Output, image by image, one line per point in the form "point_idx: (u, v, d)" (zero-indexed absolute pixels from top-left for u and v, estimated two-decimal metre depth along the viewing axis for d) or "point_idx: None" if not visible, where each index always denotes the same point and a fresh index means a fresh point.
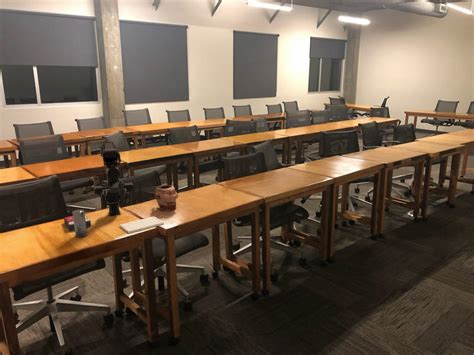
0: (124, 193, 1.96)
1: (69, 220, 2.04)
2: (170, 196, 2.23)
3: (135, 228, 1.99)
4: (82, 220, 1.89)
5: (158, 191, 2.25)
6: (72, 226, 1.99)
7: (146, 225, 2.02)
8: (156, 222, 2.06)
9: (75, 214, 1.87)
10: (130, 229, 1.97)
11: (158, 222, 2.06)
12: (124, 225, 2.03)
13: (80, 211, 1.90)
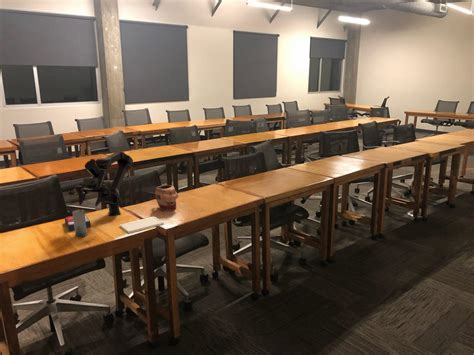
0: None
1: (69, 220, 2.04)
2: (170, 196, 2.23)
3: (135, 228, 1.99)
4: (82, 220, 1.89)
5: (158, 191, 2.25)
6: (71, 226, 1.99)
7: (146, 225, 2.02)
8: (156, 222, 2.06)
9: (75, 214, 1.87)
10: (130, 229, 1.97)
11: (158, 222, 2.06)
12: (124, 225, 2.03)
13: (80, 211, 1.90)
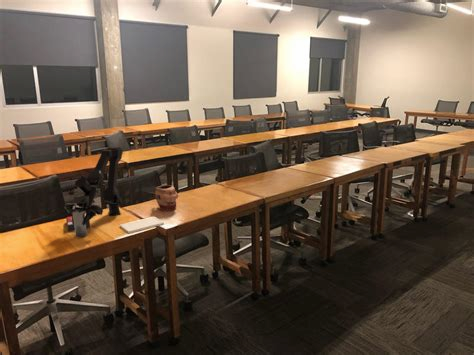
0: None
1: (69, 220, 2.04)
2: (170, 196, 2.23)
3: (135, 228, 1.99)
4: (82, 220, 1.89)
5: (158, 191, 2.25)
6: (70, 226, 1.99)
7: (146, 225, 2.02)
8: (156, 222, 2.06)
9: (75, 214, 1.87)
10: (130, 229, 1.97)
11: (158, 222, 2.06)
12: (124, 225, 2.03)
13: (80, 211, 1.90)
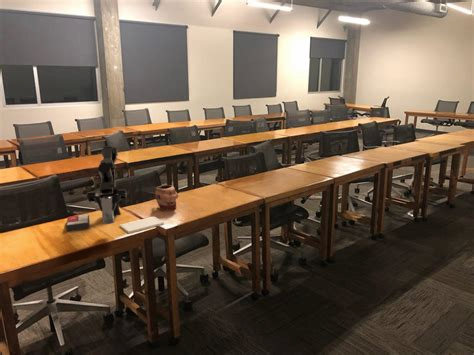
0: None
1: (69, 220, 2.04)
2: (170, 196, 2.23)
3: (135, 228, 1.99)
4: (112, 205, 1.89)
5: (158, 191, 2.25)
6: (69, 227, 1.98)
7: (146, 225, 2.02)
8: (156, 222, 2.06)
9: (106, 200, 1.86)
10: (130, 229, 1.97)
11: (158, 222, 2.06)
12: (124, 225, 2.03)
13: (108, 197, 1.89)
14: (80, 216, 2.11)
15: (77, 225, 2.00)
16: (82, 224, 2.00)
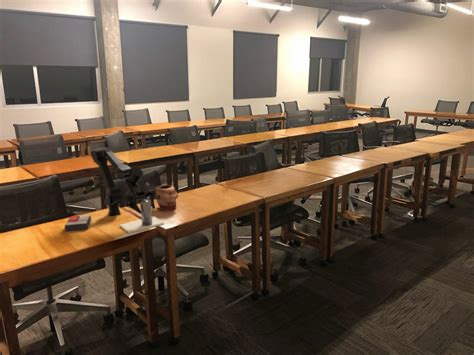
0: None
1: (70, 220, 2.04)
2: (170, 196, 2.23)
3: (135, 228, 1.99)
4: None
5: (158, 191, 2.25)
6: (68, 227, 1.98)
7: None
8: (156, 222, 2.06)
9: (148, 202, 2.00)
10: (130, 229, 1.97)
11: (158, 222, 2.06)
12: (124, 225, 2.03)
13: (146, 200, 2.02)
14: (81, 216, 2.10)
15: (75, 225, 1.99)
16: (80, 225, 2.00)
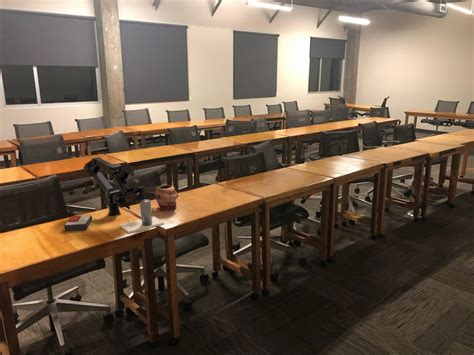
0: (139, 198, 2.13)
1: (70, 220, 2.04)
2: (170, 196, 2.23)
3: (135, 228, 1.99)
4: None
5: (158, 191, 2.25)
6: (67, 227, 1.98)
7: None
8: (156, 222, 2.06)
9: (148, 203, 2.00)
10: (130, 229, 1.97)
11: (158, 222, 2.06)
12: (124, 225, 2.03)
13: (146, 200, 2.02)
14: (82, 216, 2.10)
15: (74, 226, 1.99)
16: (79, 225, 1.99)
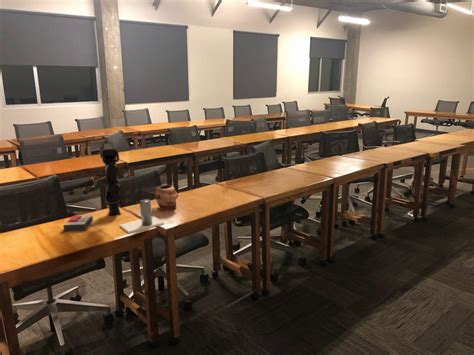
0: None
1: (70, 220, 2.04)
2: (170, 196, 2.23)
3: (135, 228, 1.99)
4: None
5: (158, 191, 2.25)
6: (66, 227, 1.98)
7: None
8: (156, 222, 2.06)
9: (148, 203, 2.00)
10: (130, 229, 1.97)
11: (158, 222, 2.06)
12: (124, 225, 2.03)
13: (146, 200, 2.02)
14: (83, 217, 2.10)
15: (74, 226, 1.98)
16: (78, 225, 1.99)
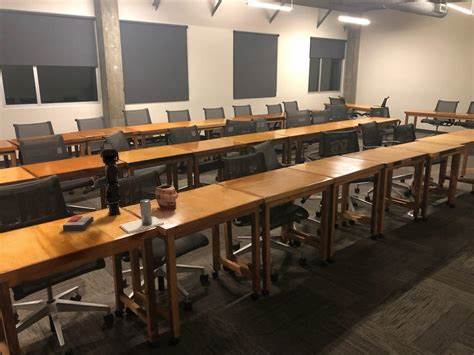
0: (115, 190, 2.06)
1: (70, 220, 2.04)
2: (170, 196, 2.23)
3: (135, 228, 1.99)
4: None
5: (158, 191, 2.25)
6: (65, 227, 1.98)
7: None
8: (156, 222, 2.06)
9: (148, 202, 2.00)
10: (130, 229, 1.97)
11: (158, 222, 2.06)
12: (124, 225, 2.03)
13: (146, 200, 2.02)
14: (83, 217, 2.09)
15: (73, 226, 1.98)
16: (77, 226, 1.98)
